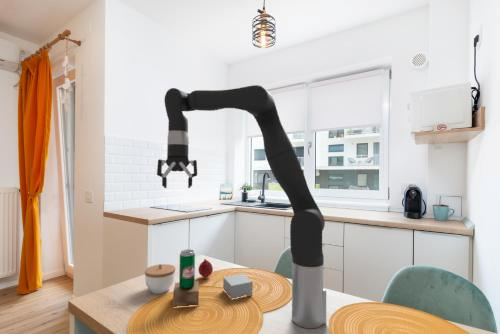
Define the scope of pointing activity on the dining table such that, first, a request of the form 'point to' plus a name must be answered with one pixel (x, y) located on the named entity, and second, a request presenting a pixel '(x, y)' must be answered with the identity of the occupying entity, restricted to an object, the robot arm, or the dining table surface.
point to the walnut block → (186, 295)
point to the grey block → (237, 285)
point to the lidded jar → (159, 277)
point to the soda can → (187, 269)
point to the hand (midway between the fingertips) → (177, 187)
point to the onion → (205, 269)
